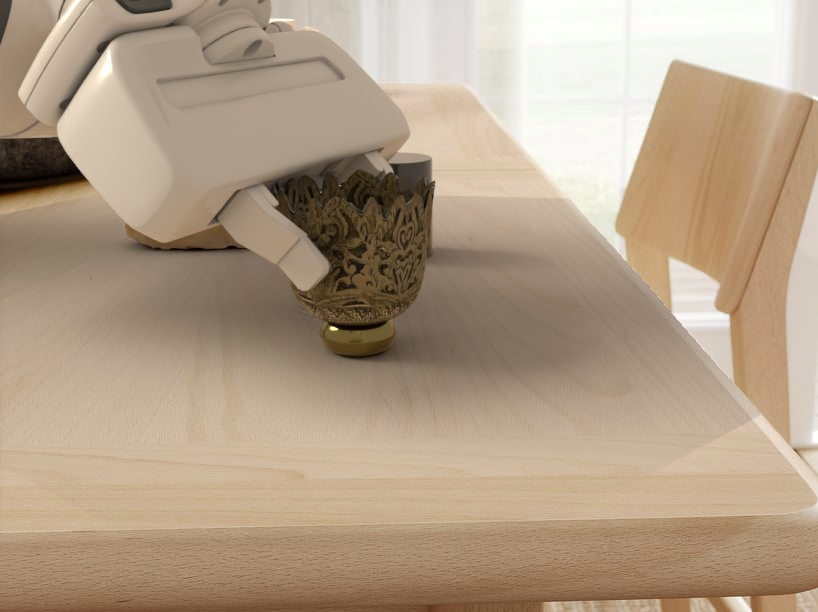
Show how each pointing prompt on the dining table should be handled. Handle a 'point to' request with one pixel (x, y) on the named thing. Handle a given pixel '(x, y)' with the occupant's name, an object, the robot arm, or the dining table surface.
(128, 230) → the pastry
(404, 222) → the cup
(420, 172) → the dark gray cylinder
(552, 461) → the dining table surface
